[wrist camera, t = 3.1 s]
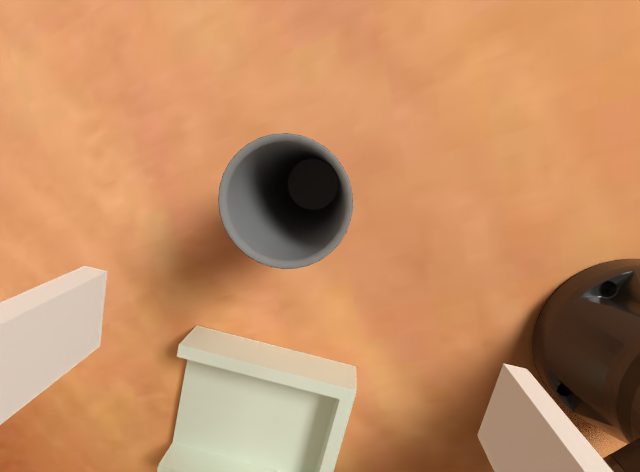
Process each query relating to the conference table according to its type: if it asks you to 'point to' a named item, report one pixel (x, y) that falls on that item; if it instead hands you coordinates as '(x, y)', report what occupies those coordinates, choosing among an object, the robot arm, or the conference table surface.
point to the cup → (285, 201)
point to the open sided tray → (257, 407)
